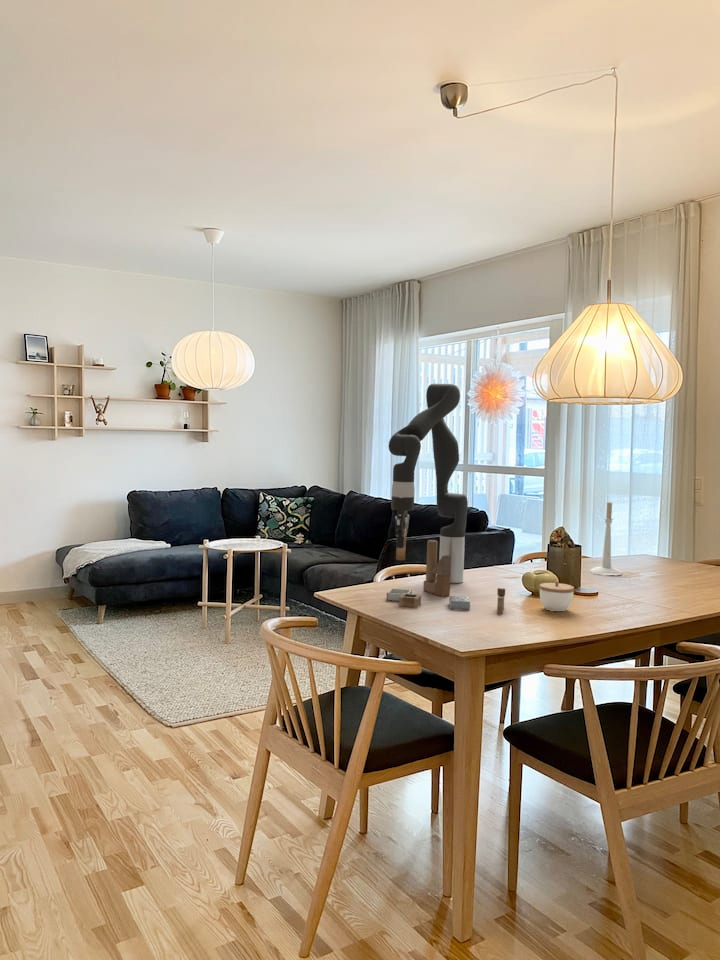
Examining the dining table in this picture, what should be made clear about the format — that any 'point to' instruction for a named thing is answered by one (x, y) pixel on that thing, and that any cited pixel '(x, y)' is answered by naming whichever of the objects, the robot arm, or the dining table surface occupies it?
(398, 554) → the dowel
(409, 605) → the socket block
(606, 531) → the candlestick
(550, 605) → the lidded jar
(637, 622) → the dining table surface
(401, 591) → the tray
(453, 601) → the grey rectangular block
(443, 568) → the tan angled wooden part
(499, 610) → the block
